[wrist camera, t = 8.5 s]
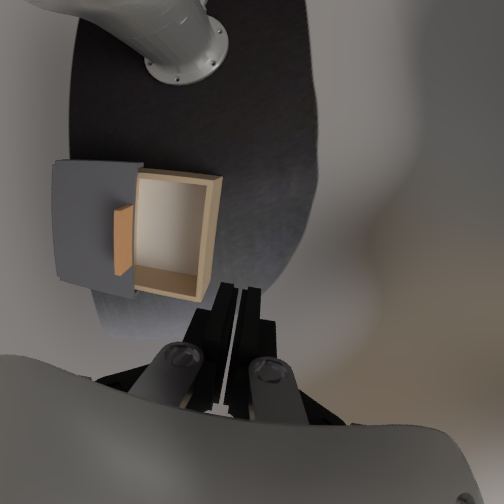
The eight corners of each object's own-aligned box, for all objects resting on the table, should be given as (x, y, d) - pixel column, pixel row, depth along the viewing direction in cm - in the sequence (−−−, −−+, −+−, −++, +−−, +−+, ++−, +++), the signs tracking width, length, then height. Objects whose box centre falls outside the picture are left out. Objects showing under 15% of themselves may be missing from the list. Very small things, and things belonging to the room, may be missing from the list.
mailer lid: (61, 159, 32) (36, 162, 27) (143, 162, 32) (122, 164, 27) (65, 274, 38) (44, 288, 33) (139, 292, 38) (122, 312, 33)
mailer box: (138, 167, 38) (115, 170, 31) (222, 176, 38) (213, 180, 31) (134, 266, 43) (114, 284, 37) (210, 280, 43) (200, 302, 37)
